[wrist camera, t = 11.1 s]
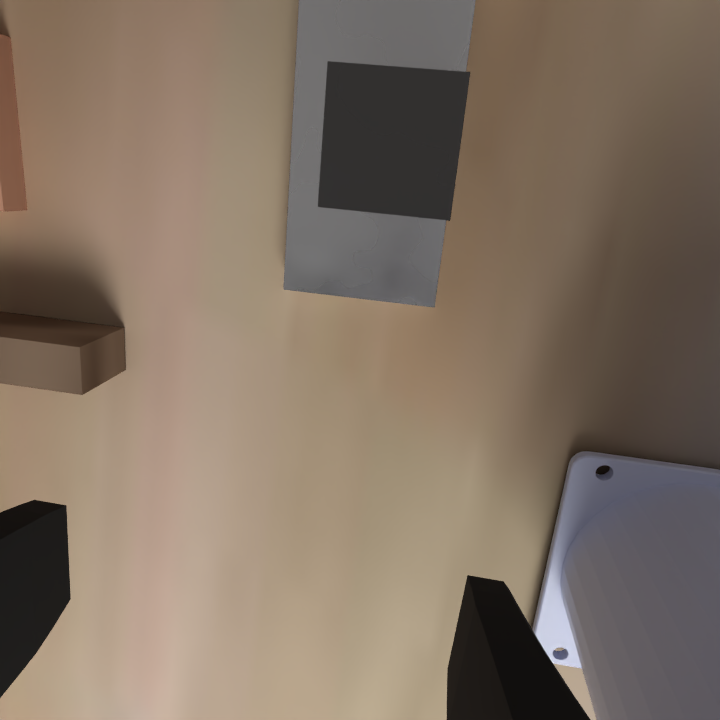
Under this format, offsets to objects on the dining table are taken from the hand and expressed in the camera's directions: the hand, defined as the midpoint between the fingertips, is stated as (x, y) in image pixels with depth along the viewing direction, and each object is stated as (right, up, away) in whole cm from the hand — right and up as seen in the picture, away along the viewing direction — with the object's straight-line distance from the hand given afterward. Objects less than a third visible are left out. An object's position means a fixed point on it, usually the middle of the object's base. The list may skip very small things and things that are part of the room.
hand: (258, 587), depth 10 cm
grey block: (+2, +10, +7) cm, 12 cm away
